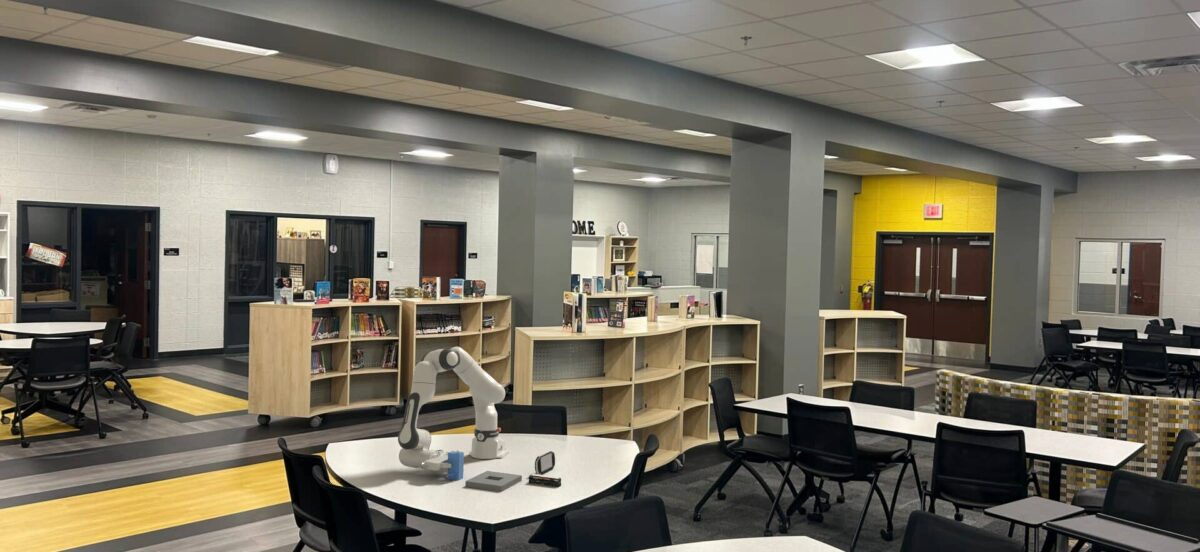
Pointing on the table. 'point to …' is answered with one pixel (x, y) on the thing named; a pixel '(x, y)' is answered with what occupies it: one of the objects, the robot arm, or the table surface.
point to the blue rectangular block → (455, 465)
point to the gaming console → (545, 463)
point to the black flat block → (545, 480)
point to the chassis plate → (493, 481)
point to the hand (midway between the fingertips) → (457, 463)
